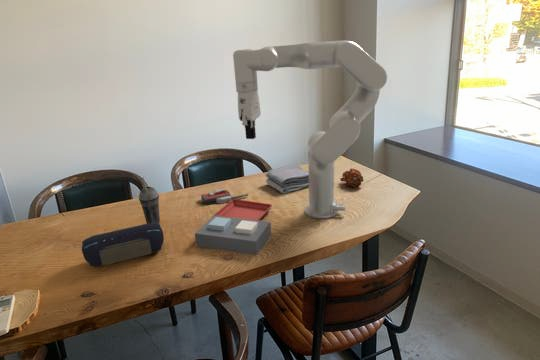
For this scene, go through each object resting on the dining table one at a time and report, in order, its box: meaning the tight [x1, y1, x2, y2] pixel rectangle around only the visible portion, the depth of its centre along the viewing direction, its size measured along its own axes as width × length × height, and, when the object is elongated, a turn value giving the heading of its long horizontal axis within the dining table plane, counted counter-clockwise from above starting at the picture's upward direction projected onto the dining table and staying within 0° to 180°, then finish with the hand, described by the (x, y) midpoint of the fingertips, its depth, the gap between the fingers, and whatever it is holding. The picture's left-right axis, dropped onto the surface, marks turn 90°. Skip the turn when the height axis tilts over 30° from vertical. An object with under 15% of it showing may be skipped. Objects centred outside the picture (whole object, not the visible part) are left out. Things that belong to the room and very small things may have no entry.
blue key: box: [208, 217, 231, 231], centre depth 138 cm, size 6×6×5 cm
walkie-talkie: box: [200, 188, 249, 206], centre depth 172 cm, size 9×4×20 cm
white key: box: [235, 220, 258, 235], centre depth 135 cm, size 6×6×5 cm
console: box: [194, 214, 272, 256], centre depth 137 cm, size 22×14×5 cm, turn 70°
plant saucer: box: [210, 198, 273, 221], centre depth 154 cm, size 18×18×3 cm
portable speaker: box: [81, 223, 165, 268], centre depth 129 cm, size 25×10×10 cm, turn 114°
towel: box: [265, 162, 309, 194], centre depth 182 cm, size 15×18×8 cm
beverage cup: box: [138, 176, 161, 225], centre depth 148 cm, size 7×7×20 cm
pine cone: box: [339, 167, 364, 188], centre depth 178 cm, size 8×8×12 cm
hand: (251, 138), depth 145 cm, fingers closed
